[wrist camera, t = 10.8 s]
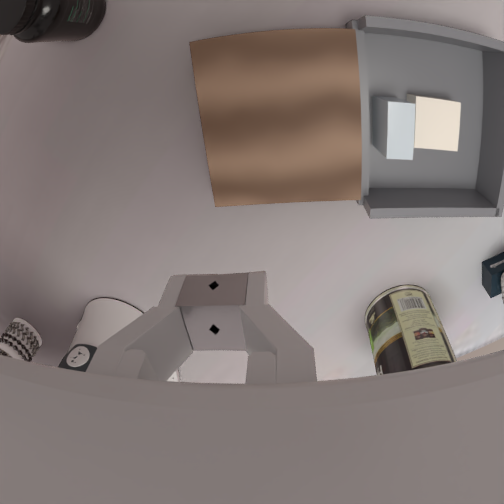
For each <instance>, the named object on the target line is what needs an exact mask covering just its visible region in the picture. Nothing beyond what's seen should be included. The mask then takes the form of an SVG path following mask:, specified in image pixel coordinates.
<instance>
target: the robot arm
mask: <svg viewBox="0 0 504 504" xmlns="http://www.w3.org/2000/svg"><path fill="white" fill-rule="evenodd" d="M202 350H233V351H247V353H248V355H249V356H248V364H247V373H246V383H245V384H223V383H191V382H180V377H179V371H178V368H179V367H180V366H181V365H182V364H183V363H184V361H185V360H186V359H187V358H188V357H189V356H190V355H191V354H192V353H193V351H202ZM0 504H504V350H502V351H499V352H495V353H491V354H487V355H483V356H479V357H475V358H471V359H467V360H462V361H457V362H452V363H448V364H443V365H438V366H432V367H427V368H421V369H415V370H409V371H403V372H396V373H390V374H382V375H375V376H366V377H358V378H348V379H338V380H327V381H317V377H316V367H315V357H314V349H313V348H312V347H311V346H310V345H309V344H308V343H307V342H306V341H305V340H304V339H303V338H302V337H301V336H300V335H299V334H298V333H297V332H296V331H295V330H294V329H293V328H292V327H291V326H290V325H289V324H288V323H287V322H286V321H285V320H284V319H283V318H282V317H281V316H280V315H279V314H278V313H277V312H276V311H275V310H274V309H273V308H272V307H271V306H270V305H269V301H268V288H267V276H266V272H265V271H258V272H249V273H233V274H188V275H173V276H171V277H170V279H169V281H168V284H167V286H166V288H165V291H164V293H163V295H162V298H161V300H160V302H159V305H158V307H152V308H151V309H149V310H148V311H147V312H145V313H144V314H143V313H142V312H140V311H139V310H137V309H136V308H134V307H132V306H130V305H128V304H126V303H124V302H121V301H118V300H114V299H108V298H100V299H95V300H93V301H91V302H90V303H88V304H87V306H86V308H85V311H84V314H83V317H82V320H81V321H80V322H79V323H78V325H77V332H76V334H75V336H74V339H73V341H72V343H71V345H70V348H69V350H68V352H67V354H66V355H65V356H64V358H63V359H62V361H61V363H60V364H59V366H58V367H53V366H47V365H42V364H38V363H33V362H28V361H24V360H19V359H15V358H11V357H7V356H3V355H0Z"/></svg>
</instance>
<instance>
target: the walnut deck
mask: <svg viewBox="0 0 504 504" xmlns="http://www.w3.org/2000/svg"><path fill="white" fill-rule="evenodd" d="M189 43H190V50H191V58H192V65H193V72H194V78H195V85H196V92H197V98H198V105H199V111H200V118H201V124H202V130H203V137H204V143H205V149H206V155H207V161H208V167H209V173H210V179H211V185H212V191H213V196H214V202H215V207H223V206H237V205H253V204H270V203H289V202H311V201H338V200H361V177H362V128H361V98H360V79H359V64H358V52H357V41H356V31H355V29H341V28H311V29H287V30H272V31H261V32H251V33H243V34H235V35H228V36H221V37H215V38H209V39H203V40H198V41H193V42H189Z"/></svg>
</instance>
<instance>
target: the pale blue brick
mask: <svg viewBox="0 0 504 504" xmlns="http://www.w3.org/2000/svg"><path fill="white" fill-rule="evenodd" d="M414 132H415V104H414V103H412V102H409V101H406V100H403V99H400V98H396V97H383V96H373V132H372V145H373V146H374V147H375V148H376V149H377V150H378V151H379V152H380V153H381V154H382V155H383V156H384V157H385V158H386V159H403V160H413V149H414Z"/></svg>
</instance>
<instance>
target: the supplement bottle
mask: <svg viewBox="0 0 504 504" xmlns="http://www.w3.org/2000/svg"><path fill="white" fill-rule="evenodd" d="M104 13H105V0H0V34H1V35H8V34H9V35H14V37H15V38H16V39H17V40H19V41H21V42H24V43H34V42H51V41H75V40H80V39H83V38H85V37H87V36H88V35H90V34H91V33H92V32H93V31H94V30H95V29H96V28H97V27H98V25H99V24H100V22H101V21H102V18H103V16H104Z"/></svg>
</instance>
